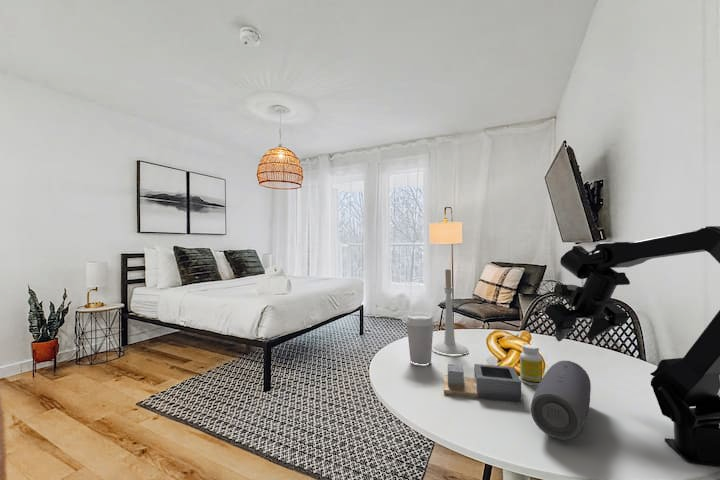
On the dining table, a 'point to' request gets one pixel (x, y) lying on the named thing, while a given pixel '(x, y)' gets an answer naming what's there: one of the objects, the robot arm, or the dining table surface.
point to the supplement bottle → (530, 365)
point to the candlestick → (449, 324)
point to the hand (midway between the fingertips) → (573, 339)
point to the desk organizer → (484, 383)
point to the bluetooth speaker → (562, 400)
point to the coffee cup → (420, 337)
